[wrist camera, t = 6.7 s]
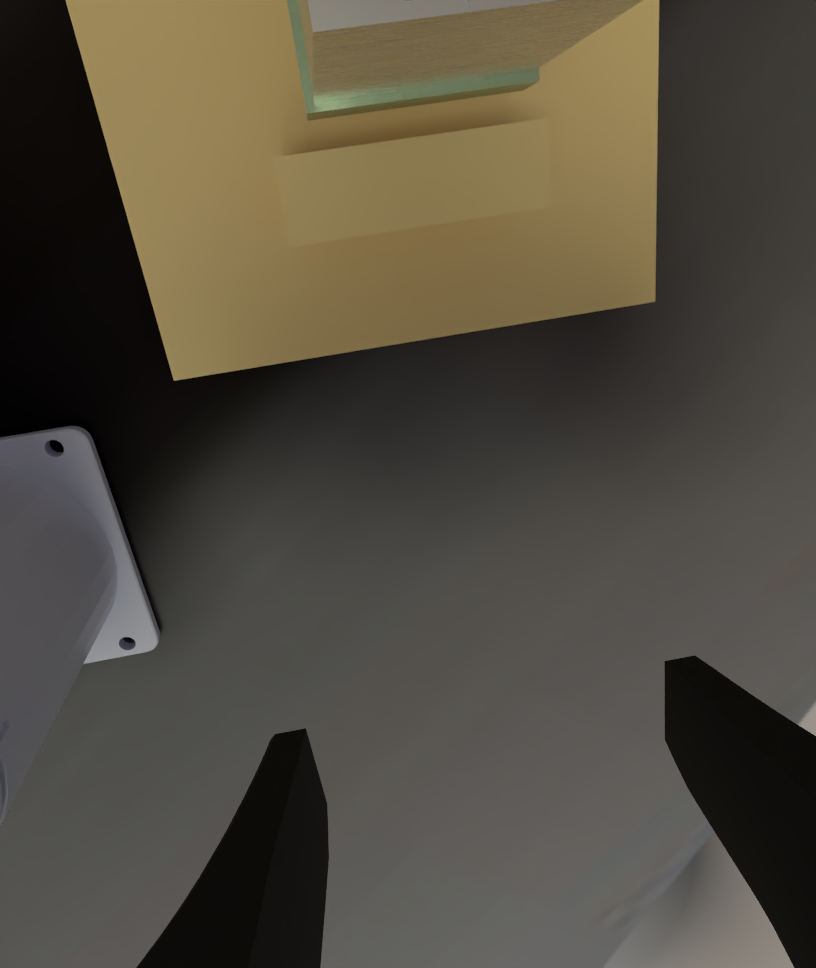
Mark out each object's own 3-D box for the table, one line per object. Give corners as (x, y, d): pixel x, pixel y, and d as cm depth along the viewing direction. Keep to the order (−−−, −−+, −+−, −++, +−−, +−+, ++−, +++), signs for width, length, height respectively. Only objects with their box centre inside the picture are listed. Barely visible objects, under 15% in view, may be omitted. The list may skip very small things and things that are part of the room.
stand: (181, 371, 19) (140, 420, 15) (-18, -344, 13) (-189, -632, 9) (637, 296, 20) (730, 321, 16) (637, -402, 14) (789, -690, 10)
